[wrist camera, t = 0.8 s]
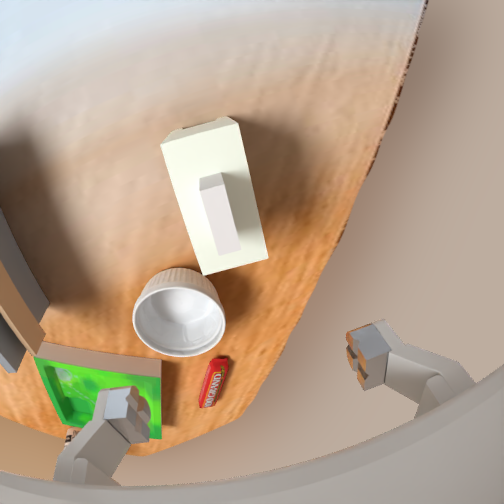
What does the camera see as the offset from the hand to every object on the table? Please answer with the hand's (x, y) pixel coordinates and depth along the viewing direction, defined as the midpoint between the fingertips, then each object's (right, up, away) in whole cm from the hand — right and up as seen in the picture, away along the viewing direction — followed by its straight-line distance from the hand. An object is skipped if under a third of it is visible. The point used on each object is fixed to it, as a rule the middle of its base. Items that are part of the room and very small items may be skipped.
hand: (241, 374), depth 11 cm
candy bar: (-8, -21, +48) cm, 53 cm away
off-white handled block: (-5, +14, +28) cm, 32 cm away
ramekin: (-11, -2, +37) cm, 38 cm away
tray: (-31, -25, +45) cm, 60 cm away
